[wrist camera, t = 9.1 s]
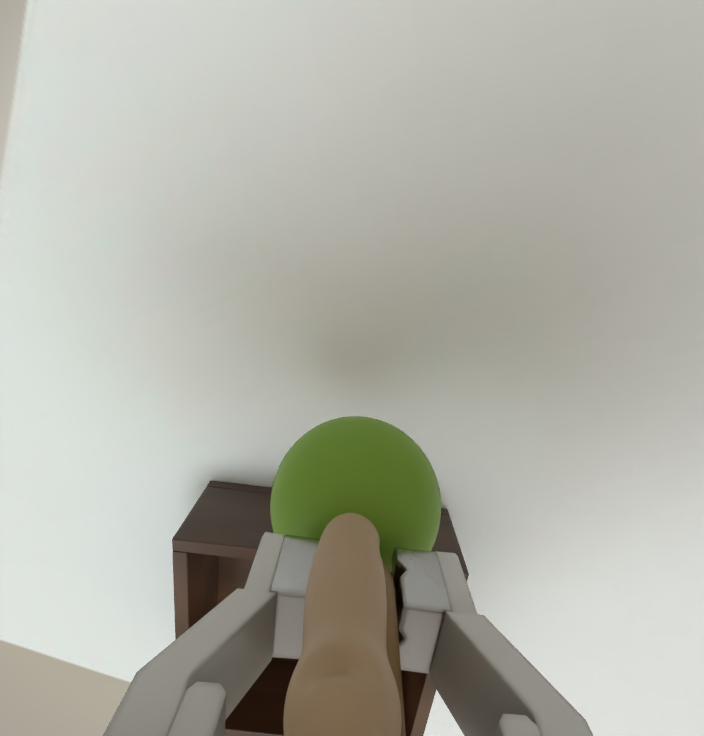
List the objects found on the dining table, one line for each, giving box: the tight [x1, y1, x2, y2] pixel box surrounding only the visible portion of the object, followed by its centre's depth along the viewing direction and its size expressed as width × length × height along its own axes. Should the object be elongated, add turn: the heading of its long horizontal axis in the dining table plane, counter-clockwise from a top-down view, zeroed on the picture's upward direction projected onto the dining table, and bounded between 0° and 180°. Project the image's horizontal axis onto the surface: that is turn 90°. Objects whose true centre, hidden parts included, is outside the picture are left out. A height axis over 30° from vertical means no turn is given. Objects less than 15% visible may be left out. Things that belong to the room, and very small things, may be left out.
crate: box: [172, 481, 469, 736], centre depth 24 cm, size 16×16×5 cm
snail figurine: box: [270, 416, 441, 736], centre depth 9 cm, size 5×6×12 cm
